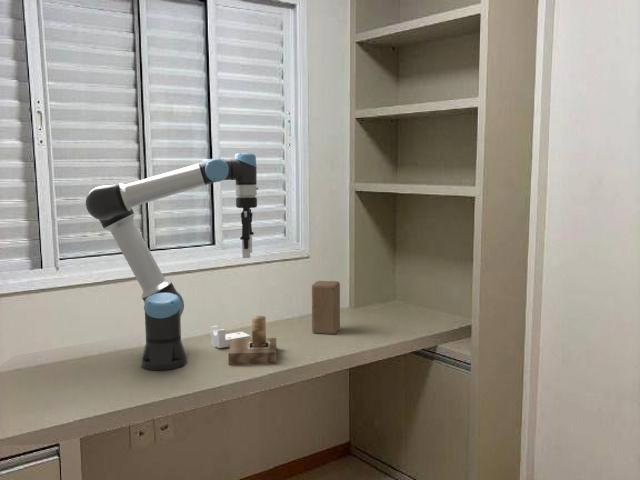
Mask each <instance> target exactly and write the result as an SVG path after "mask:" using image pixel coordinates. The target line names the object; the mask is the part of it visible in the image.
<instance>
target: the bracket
mask: <svg viewBox="0 0 640 480" xmlns="http://www.w3.org/2000/svg"><path fill="white" fill-rule="evenodd" d="M250 338H252V335H250V334H248V333H245V331H239V332H238V331H237V332H232V333H226V329H225V328H222V329H219V326H218V325H213V326H212V325H211V326H210V346H211V347H213V348H218V349H222V348H226V347H228V348H229V347H230V346H231V343H232V339H250Z"/></svg>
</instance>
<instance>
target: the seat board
mask: <svg viewBox="0 0 640 480" xmlns="http://www.w3.org/2000/svg"><path fill="white" fill-rule="evenodd" d="M252 344H253V343H252V337H251V338H250V339H232V343H231V346H229V350H228V353H227V354H228V358H227V359H228V365H229V366H236V365H237V366H238V365H239V366H240V365H242V366H244V365H245V366H246V365H273V364H274V365H276V364H277V337H266V343H265V344H266V347H262V348H253V347H252Z"/></svg>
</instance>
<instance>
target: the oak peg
mask: <svg viewBox="0 0 640 480" xmlns="http://www.w3.org/2000/svg"><path fill="white" fill-rule="evenodd" d="M266 325H267V323H266V316H264V315H256V316H255V315H254V316H252V317H251V338H252V343H253V344H252V347H253V348H262V347H266V344H265V343H266V338H267V332H266V331H267V327H266Z"/></svg>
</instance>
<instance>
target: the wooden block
mask: <svg viewBox="0 0 640 480" xmlns="http://www.w3.org/2000/svg"><path fill="white" fill-rule="evenodd" d="M340 328H341V283H340V281H336V280H316V281H315V282H314V283H313V284H312V285H311V332H312V333H313V334H320V335H321V334H324V335H336V334H337V332H338V331H339V330H340Z"/></svg>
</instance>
